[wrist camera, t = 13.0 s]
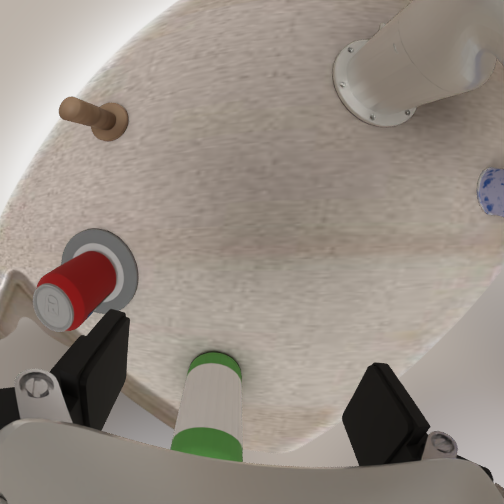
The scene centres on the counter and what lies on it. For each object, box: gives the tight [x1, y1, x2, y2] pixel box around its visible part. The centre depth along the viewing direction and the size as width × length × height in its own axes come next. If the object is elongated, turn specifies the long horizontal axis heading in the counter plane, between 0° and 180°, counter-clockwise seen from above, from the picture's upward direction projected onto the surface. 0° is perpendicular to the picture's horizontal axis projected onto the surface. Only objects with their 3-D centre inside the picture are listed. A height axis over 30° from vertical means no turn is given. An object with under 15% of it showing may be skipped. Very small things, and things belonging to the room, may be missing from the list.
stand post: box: [59, 97, 128, 141], centre depth 28 cm, size 5×5×11 cm
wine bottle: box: [171, 352, 243, 462], centre depth 28 cm, size 8×8×30 cm
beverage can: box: [33, 251, 116, 332], centre depth 32 cm, size 7×7×12 cm
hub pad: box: [61, 229, 138, 314], centre depth 38 cm, size 12×12×1 cm
